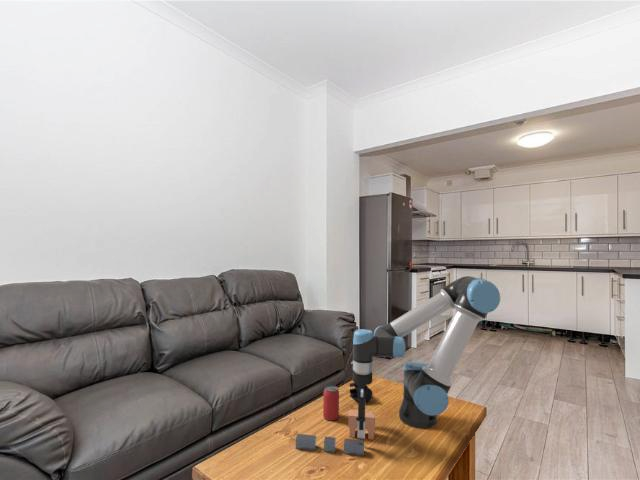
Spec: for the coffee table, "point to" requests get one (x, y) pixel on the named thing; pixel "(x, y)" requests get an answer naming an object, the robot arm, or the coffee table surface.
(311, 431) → the coffee table surface
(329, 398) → the beer can
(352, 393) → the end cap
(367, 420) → the salmon pink bridge block
